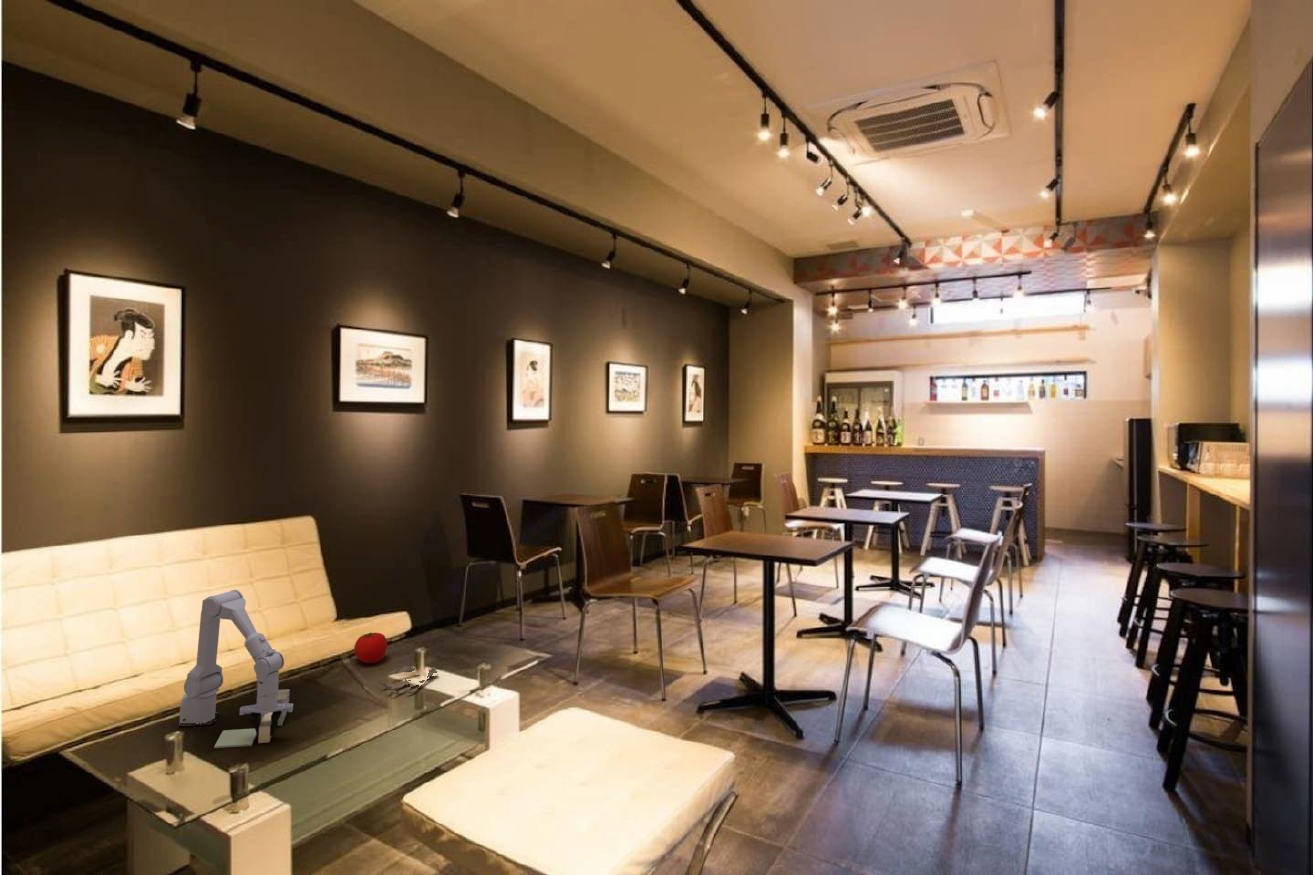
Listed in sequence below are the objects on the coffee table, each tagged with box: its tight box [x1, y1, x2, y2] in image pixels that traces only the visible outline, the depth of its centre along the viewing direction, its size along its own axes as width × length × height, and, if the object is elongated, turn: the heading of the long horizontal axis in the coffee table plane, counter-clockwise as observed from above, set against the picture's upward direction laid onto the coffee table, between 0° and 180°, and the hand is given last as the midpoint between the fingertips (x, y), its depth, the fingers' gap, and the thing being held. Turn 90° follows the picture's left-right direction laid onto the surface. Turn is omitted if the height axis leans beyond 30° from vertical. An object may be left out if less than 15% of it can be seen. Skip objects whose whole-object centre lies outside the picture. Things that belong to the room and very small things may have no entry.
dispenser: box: [261, 688, 291, 727], centre depth 233 cm, size 7×12×7 cm, turn 19°
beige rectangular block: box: [257, 712, 273, 744], centre depth 222 cm, size 3×10×5 cm, turn 19°
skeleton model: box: [378, 666, 438, 695], centre depth 266 cm, size 24×13×5 cm, turn 168°
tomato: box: [353, 631, 388, 664], centre depth 285 cm, size 12×14×11 cm
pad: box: [213, 727, 257, 749], centre depth 218 cm, size 10×10×1 cm
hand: (265, 734), depth 219 cm, fingers closed on beige rectangular block, 3 cm apart
